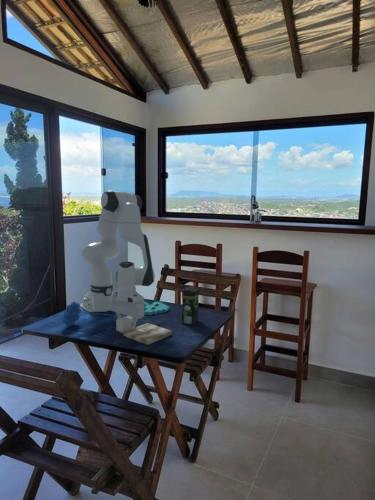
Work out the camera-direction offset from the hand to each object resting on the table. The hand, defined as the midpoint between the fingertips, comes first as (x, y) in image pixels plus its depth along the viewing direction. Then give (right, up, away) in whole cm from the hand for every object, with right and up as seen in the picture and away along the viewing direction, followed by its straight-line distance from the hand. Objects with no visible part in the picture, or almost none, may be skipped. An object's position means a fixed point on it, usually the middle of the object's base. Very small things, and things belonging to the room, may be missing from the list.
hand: (127, 323), depth 174 cm
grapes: (-29, -2, +5) cm, 29 cm away
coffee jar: (+31, -2, +14) cm, 34 cm away
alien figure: (+8, +1, +34) cm, 35 cm away
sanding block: (-1, -3, 0) cm, 3 cm away
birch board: (+11, -4, -6) cm, 13 cm away
